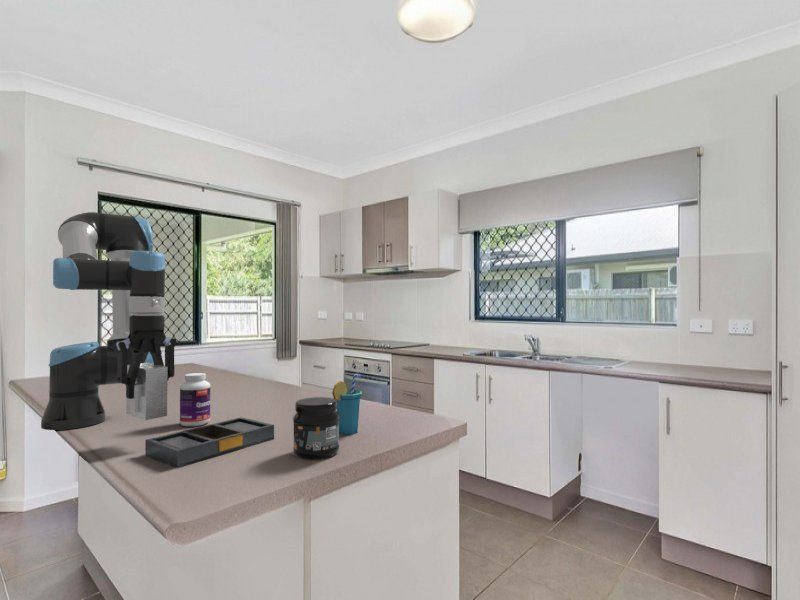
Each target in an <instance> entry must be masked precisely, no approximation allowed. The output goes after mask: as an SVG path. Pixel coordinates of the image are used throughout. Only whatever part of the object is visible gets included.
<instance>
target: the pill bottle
mask: <svg viewBox="0 0 800 600" xmlns="http://www.w3.org/2000/svg"><path fill="white" fill-rule="evenodd" d="M206 375H207V374H206V373H205V372H203V373H202V372H196V373H194V372H193V373H192V372H191V373H186V374H184V381H185V382H182V383H181V385H180V386H179V424H180V425H181V426H182V427H189V428H190V427H202V426H205V425H208V423H209V422H210V420H211V383H210V382H209V381H207V380H206V378H207V376H206Z"/></svg>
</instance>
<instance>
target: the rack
mask: <svg viewBox="0 0 800 600" xmlns="http://www.w3.org/2000/svg"><path fill="white" fill-rule="evenodd" d="M274 439H275V424H272V423H267V422H263V421H259V420H254V419H250V418H246V417H241V416H240V417H236V418H232V419H228V420H224V421H219V422H216V423H211V424H205V425H201V426H196V427H194V428H190V429H185V430H182V431H178V432H177V431H176V432H173V433H168V434H165V435H160V436H156V437H152V438H147V439H144V440H145V442H144V443H145V446H144V447H145V449H144V450H145V456H146V457H148V458H151V459H154V460H155V461H158V462H161V463H163V464H165V465H168V466H170V467H172V468H176V469H180V468H183V467H186V466H189V465H193V464H196V463H199V462H203V461H206V460H209V459H214V458H216V457H219V456H222V455H226V454H229V453H232V452H235V451H239V450H243V449H246V448H249V447H252V446H255V445H259V444H262V443H265V442H269V441H272V440H274Z"/></svg>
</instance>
